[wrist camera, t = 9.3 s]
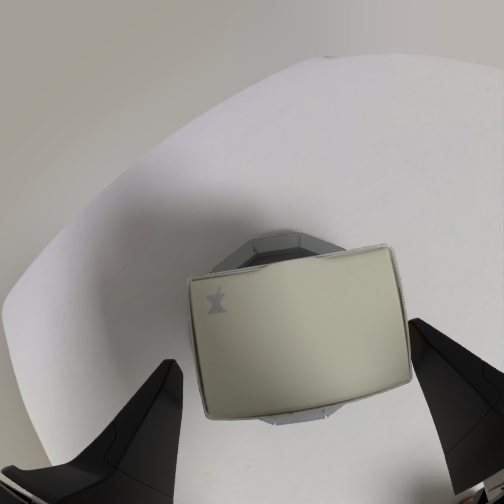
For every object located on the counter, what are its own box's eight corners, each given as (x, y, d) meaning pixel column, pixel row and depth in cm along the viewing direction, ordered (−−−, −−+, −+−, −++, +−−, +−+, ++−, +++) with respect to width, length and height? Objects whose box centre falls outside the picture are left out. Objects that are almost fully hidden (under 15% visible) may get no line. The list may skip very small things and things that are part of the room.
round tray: (270, 444, 17) (269, 454, 15) (169, 311, 21) (159, 310, 19) (407, 338, 18) (417, 338, 16) (301, 210, 21) (302, 200, 20)
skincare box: (249, 367, 18) (192, 424, 6) (241, 307, 19) (172, 276, 8) (341, 352, 18) (419, 386, 6) (331, 292, 19) (394, 238, 7)
